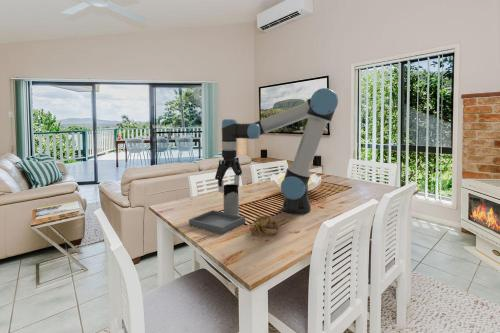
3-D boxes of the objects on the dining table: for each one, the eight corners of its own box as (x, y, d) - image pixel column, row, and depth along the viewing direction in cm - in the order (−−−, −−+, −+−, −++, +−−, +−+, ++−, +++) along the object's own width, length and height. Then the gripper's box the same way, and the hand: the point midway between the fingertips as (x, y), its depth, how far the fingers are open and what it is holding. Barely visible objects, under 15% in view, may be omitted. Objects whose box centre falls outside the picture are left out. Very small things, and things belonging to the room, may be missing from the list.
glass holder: (224, 217, 151) (224, 188, 148) (219, 209, 164) (219, 182, 162) (241, 215, 153) (241, 187, 151) (235, 207, 167) (234, 181, 164)
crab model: (275, 240, 123) (275, 227, 122) (246, 236, 127) (246, 224, 126) (282, 227, 138) (283, 215, 137) (256, 223, 141) (256, 212, 141)
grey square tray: (244, 223, 142) (244, 217, 142) (222, 234, 128) (222, 228, 128) (212, 215, 153) (212, 210, 153) (189, 225, 139) (188, 219, 139)
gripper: (237, 147, 166) (237, 184, 169) (207, 151, 145) (208, 193, 149) (248, 148, 162) (248, 186, 165) (219, 152, 141) (219, 195, 144)
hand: (229, 189), depth 157 cm, fingers open, 13 cm apart
